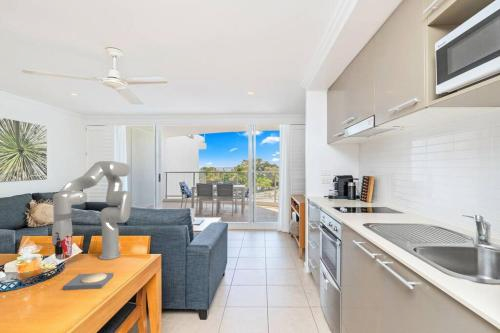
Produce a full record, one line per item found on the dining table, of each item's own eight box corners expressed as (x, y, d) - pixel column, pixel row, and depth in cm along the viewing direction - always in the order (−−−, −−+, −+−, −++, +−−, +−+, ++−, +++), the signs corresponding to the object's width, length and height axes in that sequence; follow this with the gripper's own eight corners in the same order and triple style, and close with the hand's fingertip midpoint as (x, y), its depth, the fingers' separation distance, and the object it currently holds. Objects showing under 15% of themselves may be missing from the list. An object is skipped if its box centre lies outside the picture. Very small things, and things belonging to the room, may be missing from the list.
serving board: (79, 277, 140) (79, 272, 140) (113, 276, 142) (113, 271, 142) (63, 290, 126) (63, 284, 126) (101, 288, 128) (101, 282, 128)
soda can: (63, 260, 133) (62, 236, 133) (51, 259, 135) (50, 236, 134) (75, 255, 140) (74, 233, 140) (63, 255, 141) (63, 232, 141)
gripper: (64, 213, 145) (65, 246, 145) (43, 221, 128) (44, 258, 128) (79, 213, 146) (80, 245, 146) (60, 220, 128) (61, 257, 129)
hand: (63, 251), depth 137 cm, fingers closed on soda can, 7 cm apart
